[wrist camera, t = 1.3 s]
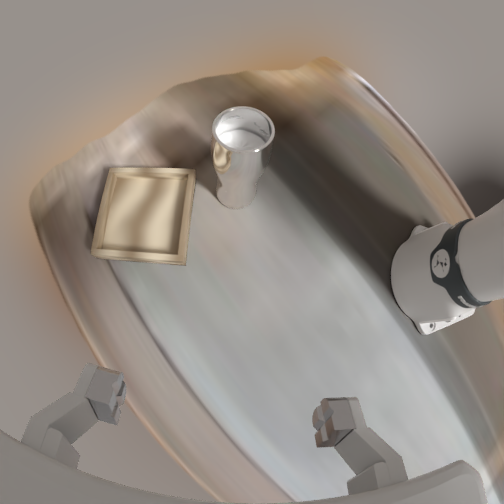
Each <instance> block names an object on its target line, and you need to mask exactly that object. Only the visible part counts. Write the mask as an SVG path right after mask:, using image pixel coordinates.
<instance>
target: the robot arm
mask: <svg viewBox="0 0 504 504" xmlns="http://www.w3.org/2000/svg"><path fill="white" fill-rule="evenodd" d="M391 283H392V289H393V293H394V296H395V298H396V301H397V303H398V305H399V306H400V308H401V309H402V310H403V312H404V313H405V314H406V315H407V316H409V317H410V318H411V319H412V320H413V321H414V322H415V324H416V327H417V329H418V330H419V332H420V333H421V334H422V335H426V334H430V333H432V332H435V331H437V330H440V329H442V328H444V327H447V326H449V325H451V324H454V323H456V322H458V321H460V320H462V319H465V318H467V317H469V316H471V315H473V313H474V311H475V308H477V307H482V306H484V305H486V304H489V303H490V302H491V301H493V300H497V299H502V298H504V199H503V200H502V201H501V202H500V203H498V204H497V205H496V206H494V207H493V208H492V209H490V210H488V211H487V212H485V213H484V214H482V215H481V216H479V217H477V218H475V219H467V220H464V221H460V222H458V223H456V224H455V225H454V226H453V225H451V224H448V223H447V222H443V223H440V224H438V225H435V226H433V227H430V228H427V227H424V226H422V225H418V226H416V227H414V229H413V231H412V233H411V235H410V238H409V239H408V240H407V241H405V242H404V243H403V244H402V245H401V246H400V247H399V248H398V250H397V252H396V254H395V256H394V259H393V262H392V267H391ZM430 325H431V327H430ZM123 378H124V376H123V373H122V372H119V371H115V370H111V369H108V368H104V367H101V366H99V365H95V364H92V363H87V364H86V365H85V367H84V369H83V371H82V373H81V376H80V378H79V380H78V382H77V385H76V387H75V389H74V392H73V393H71V392H69V393H68V394H66V395H65V396H63V397H62V398H60V399H58V400H57V401H55V402H54V403H52V404H51V405H49V406H47V407H46V408H44V409H43V410H41V411H39V412H38V413H36V414H35V415H33V416H31V418H30V420H29V423H28V425H27V428H26V430H25V432H24V435H23V438H22V440H21V442H20V441H18V440H16V439H15V438H13V437H11V436H10V435H8V434H7V433H5V432H3V431H2V430H0V504H246V503H224V502H211V501H202V500H193V499H186V498H179V497H174V496H168V495H163V494H158V493H153V492H148V491H144V490H140V489H136V488H132V487H128V486H125V485H121V484H118V483H115V482H112V481H108V480H105V479H102V478H99V477H96V476H93V475H91V474H88V473H85V472H83V471H80V470H78V469H77V465H78V462H79V458H80V455H79V453H78V452H77V451H76V450H75V448H74V447H73V446H72V445H71V444H72V443H74V442H75V441H76V440H77V439H78V438H79V437H80V436H82V435H83V434H84V433H85V432H86V431H88V430H89V429H90V428H91V427H92V426H93V425H94V424H96V423H97V422H98V420H100V421H104V422H107V423H111V424H114V425H117V424H118V421H119V417H120V414H121V411H120V408H119V406H121V405H122V404H124V400H125V396H126V384H125V383H124V382H123ZM312 421H313V427H314V428H315V429H316V430H317V432H316V434H315V440H316V445H317V448H318V447H334V448H335V449H336V451H337V452H338V453H339V454H340V456H341V457H342V458H343V459H344V461H345V462H346V463H347V464H348V465H349V467H350V468H351V469H352V470H353V471H354V473H355V474H356V476H355V477H353V478H352V479H350V480H349V481H348V482H347V487H348V493H349V495H347V496H341V497H335V498H329V499H321V500H313V501H303V502H291V503H269V504H488V502H487V497H486V492H485V488H484V484H483V481H482V478H481V476H480V474H479V472H478V471H477V470H476V469H475V468H473V467H472V466H471V465H469V464H468V463H466V462H465V461H463V460H458V461H456V462H453V463H451V464H449V465H446V466H444V467H442V468H439V469H437V470H434V471H432V472H429V473H426V474H424V475H421V476H418V477H415V478H412V479H409V480H408V477H407V474H406V470H405V467H404V463H403V460H402V457H401V456H400V455H399V454H398V453H397V452H396V451H395V450H393V449H392V448H391V447H390V446H389V445H388V444H387V443H386V442H385V441H384V440H383V439H381V438H380V437H379V436H378V435H377V434H376V433H375V432H374V431H373V430H372V429H371V428H367V426H366V423H365V419H364V416H363V413H362V409H361V406H360V403H359V400H358V398H356V397H346V398H345V397H341V398H324V399H323V400H322V401H321V405H320V406H318V407H316V409H315V410H314V413H313V420H312Z"/></svg>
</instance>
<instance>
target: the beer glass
mask: <svg viewBox="0 0 504 504" xmlns="http://www.w3.org/2000/svg"><path fill="white" fill-rule="evenodd" d="M274 135H275V127H274V124H273V122H272V120H271V119H270V118H269V117H268V116H267V115H266V114H265V113H263V112H262V111H260V110H258V109H255V108H252V107H247V106H237V107H232V108H229V109H226V110H224V111H223V112H221V113H220V114H219V115H218V116H217V117H216V118H215V120H214V122H213V125H212V137H211V158H212V163H213V167H214V170H215V172H216V175H217V177H218V182H217V185H216V196H217V198H218V200H219V201H220V202H221V203H222V204H223V205H224V206H226V207H228V208H232V209H241V208H244V207H247V206H248V205H250V204H251V203H252V202H253V200H254V199H255V197H256V192H257V188H256V183H257V181H258V180H259V178H260V177H261V176H262V174H263V172H264V171H265V169H266V167H267V165H268V162H269V159H270V156H271V152H272V146H273V139H274Z"/></svg>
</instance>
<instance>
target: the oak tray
mask: <svg viewBox="0 0 504 504" xmlns="http://www.w3.org/2000/svg"><path fill="white" fill-rule="evenodd" d="M195 184H196V172H195V169H181V168H110V169H109V173H108V177H107V180H106V184H105V188H104V192H103V195H102V200H101V204H100V208H99V212H98V217H97V222H96V226H95V231H94V237H93V242H92V248H91V255H93V256H95V257H96V258H100V259H111V260H122V261H134V262H146V263H159V264H172V265H185V266H186V258H187V248H188V239H189V230H190V222H191V213H192V206H193V198H194V191H195Z"/></svg>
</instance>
